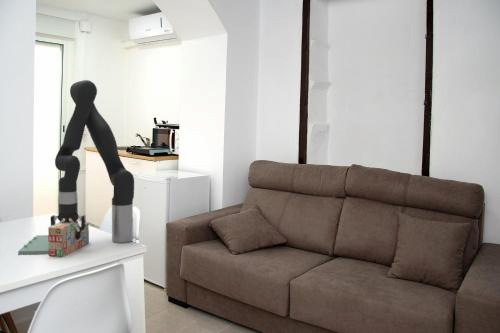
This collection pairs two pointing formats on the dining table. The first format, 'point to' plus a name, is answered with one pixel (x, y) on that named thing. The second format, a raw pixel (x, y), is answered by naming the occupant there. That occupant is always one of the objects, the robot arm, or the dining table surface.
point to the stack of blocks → (66, 238)
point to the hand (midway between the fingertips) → (68, 239)
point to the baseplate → (36, 246)
